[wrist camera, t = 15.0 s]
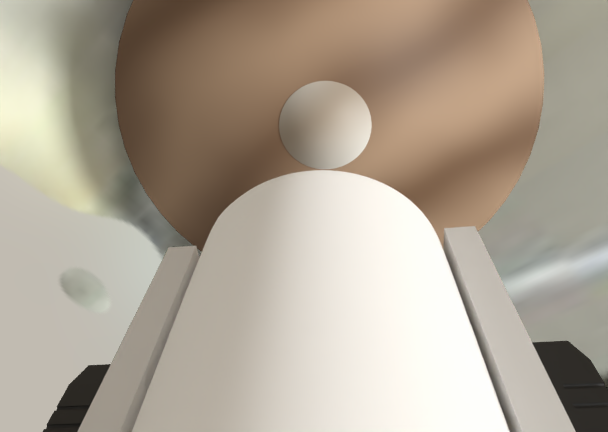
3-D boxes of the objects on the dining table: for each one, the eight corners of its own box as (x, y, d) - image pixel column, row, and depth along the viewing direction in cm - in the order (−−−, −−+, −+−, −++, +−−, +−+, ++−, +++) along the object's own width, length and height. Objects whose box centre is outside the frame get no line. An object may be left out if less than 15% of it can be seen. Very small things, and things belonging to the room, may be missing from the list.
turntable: (612, 119, 24) (756, 217, 16) (321, 326, 32) (318, 464, 24) (332, -263, 18) (336, -429, 10) (50, 113, 25) (-82, 202, 17)
